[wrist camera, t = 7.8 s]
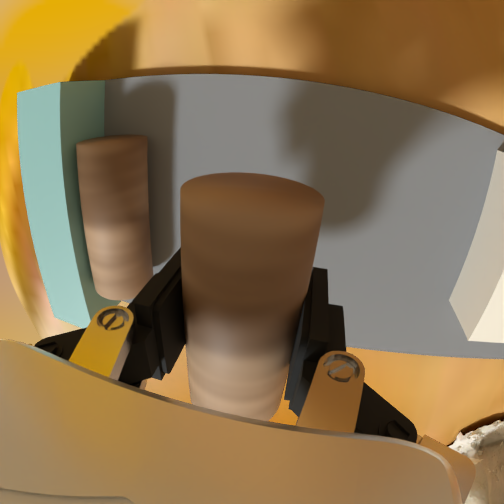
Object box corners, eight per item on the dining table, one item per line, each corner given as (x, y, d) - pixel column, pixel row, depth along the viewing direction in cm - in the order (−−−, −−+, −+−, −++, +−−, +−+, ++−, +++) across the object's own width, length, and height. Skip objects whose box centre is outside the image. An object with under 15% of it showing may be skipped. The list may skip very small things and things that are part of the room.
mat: (66, 86, 16) (61, 87, 16) (617, 203, 10) (621, 206, 10) (86, 285, 24) (82, 289, 23) (550, 354, 18) (552, 358, 17)
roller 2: (195, 169, 10) (162, 209, 7) (312, 179, 10) (339, 224, 7) (196, 357, 15) (183, 425, 11) (278, 363, 15) (282, 432, 11)
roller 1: (115, 133, 17) (62, 145, 14) (162, 136, 16) (106, 147, 12) (123, 260, 21) (83, 285, 18) (166, 277, 20) (124, 308, 17)
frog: (533, 413, 22) (560, 530, 6) (474, 463, 28) (483, 565, 12) (476, 414, 23) (499, 564, 7) (414, 467, 29) (414, 587, 13)
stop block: (61, 87, 16) (17, 92, 12) (105, 80, 15) (60, 81, 12) (82, 289, 23) (54, 317, 20) (121, 300, 23) (94, 332, 19)
